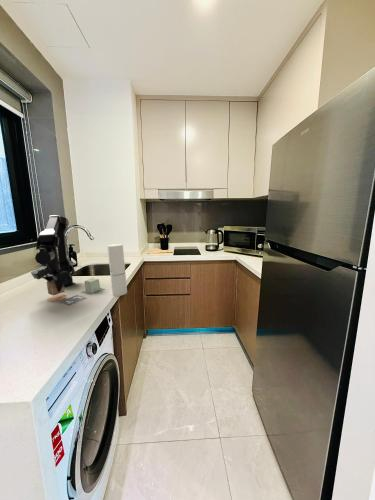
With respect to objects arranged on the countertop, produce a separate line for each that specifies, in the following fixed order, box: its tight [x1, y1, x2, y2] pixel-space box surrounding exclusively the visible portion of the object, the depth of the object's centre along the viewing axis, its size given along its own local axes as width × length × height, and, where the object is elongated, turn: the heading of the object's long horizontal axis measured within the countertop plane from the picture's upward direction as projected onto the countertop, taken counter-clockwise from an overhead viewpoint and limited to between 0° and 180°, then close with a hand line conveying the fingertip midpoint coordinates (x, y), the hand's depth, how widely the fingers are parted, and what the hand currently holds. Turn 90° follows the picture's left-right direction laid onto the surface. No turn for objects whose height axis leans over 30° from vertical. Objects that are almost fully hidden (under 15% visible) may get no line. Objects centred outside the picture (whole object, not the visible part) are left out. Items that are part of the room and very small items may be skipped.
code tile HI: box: [80, 287, 106, 296], centre depth 108 cm, size 9×9×1 cm
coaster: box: [47, 294, 68, 302], centre depth 100 cm, size 8×8×1 cm
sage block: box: [83, 277, 101, 293], centre depth 107 cm, size 5×5×6 cm
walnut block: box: [46, 281, 65, 296], centre depth 99 cm, size 5×5×6 cm
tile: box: [58, 294, 88, 306], centre depth 97 cm, size 9×9×1 cm
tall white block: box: [107, 243, 128, 297], centre depth 101 cm, size 7×7×25 cm
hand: (56, 290), depth 99 cm, fingers closed on walnut block, 5 cm apart
